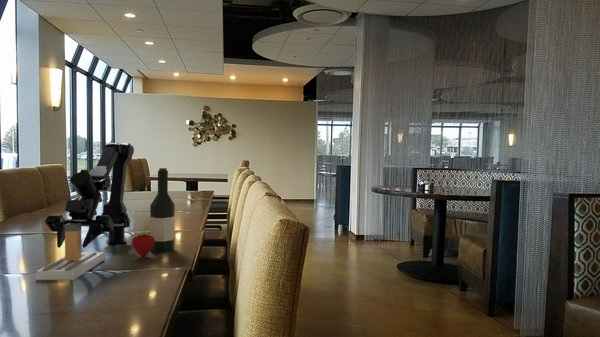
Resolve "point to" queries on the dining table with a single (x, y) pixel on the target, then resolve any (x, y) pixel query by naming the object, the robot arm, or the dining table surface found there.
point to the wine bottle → (162, 216)
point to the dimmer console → (70, 267)
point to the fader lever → (72, 241)
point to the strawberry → (143, 243)
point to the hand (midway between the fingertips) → (70, 247)
